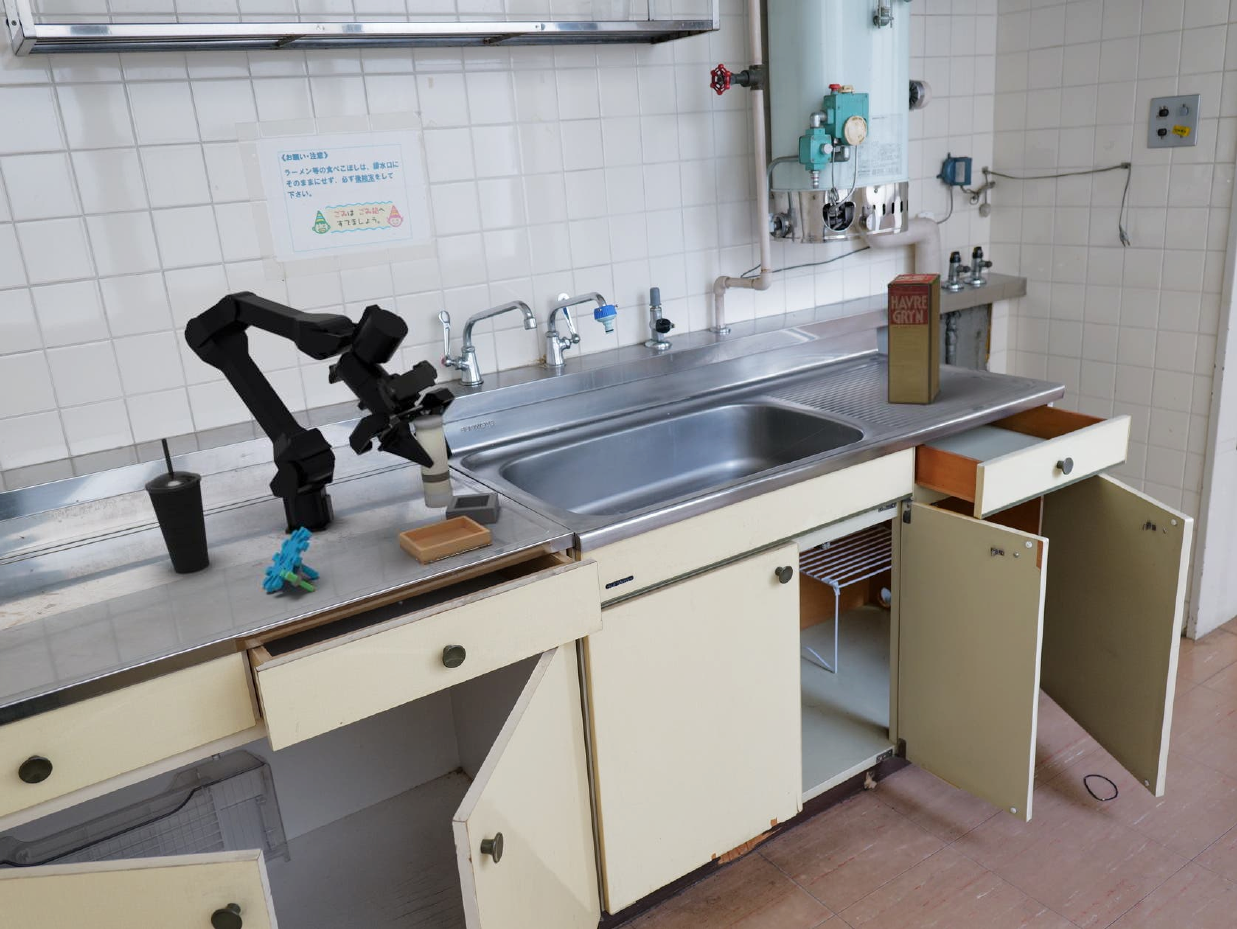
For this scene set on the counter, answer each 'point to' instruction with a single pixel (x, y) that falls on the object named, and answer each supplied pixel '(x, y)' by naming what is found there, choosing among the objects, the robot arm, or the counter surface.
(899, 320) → the food packaging
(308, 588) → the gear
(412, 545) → the tray
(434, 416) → the cylinder
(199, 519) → the drinking cup
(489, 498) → the socket block
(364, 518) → the counter surface
